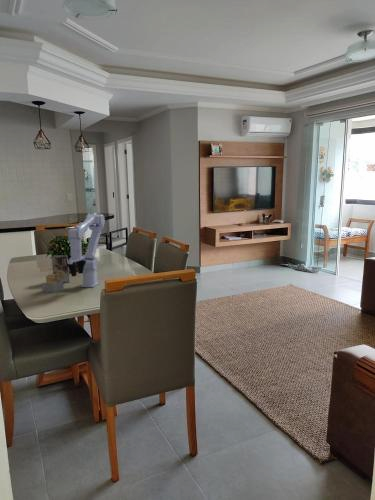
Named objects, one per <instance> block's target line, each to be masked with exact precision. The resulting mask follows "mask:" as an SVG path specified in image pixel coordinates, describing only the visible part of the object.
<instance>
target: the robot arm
mask: <svg viewBox="0 0 375 500" xmlns="http://www.w3.org/2000/svg"><path fill="white" fill-rule="evenodd" d="M105 219H106V218H105V216H104V214H102V213H101V214H91V213H90V214H89V213H88V214H87V215H86V216H85V220H83V222H81V221H80V222H78V224H77V225H75V226H74V228H70V229H69V230H68V232H67V237H68V242H69V243H70V258H68V264H67V266H68V268H69V273H70V275H71V277H76V276H77V271H78V274H82V275H81V276H82V284H81V285H80V287H81V288H93V287H94V288H95V286H97V285H99V284H100V281H98V272H97V269H98V264H99V263H98V262H99V260H98V258H97V256H96V252H97V248H98V244H99V240H100V237H101V233H102V231H103V229H104V226H105V222H106V220H105ZM88 229H89V230H91V234H90V237H89V241H88V244H87V248H86V249H87V250H86V251H85V254H82V253H83V252H82V251H83V250H82V239H83V237H84V234H85V233H86V232H87V231H88Z"/></svg>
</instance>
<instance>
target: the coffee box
mask: <svg viewBox="0 0 375 500" xmlns="http://www.w3.org/2000/svg"><path fill="white" fill-rule="evenodd" d="M68 260H69V258H68V254H66V255H65V254H63V255H52V256H51V265H52V274H59V282H62V283H63V284H64V283H70V281H71V280H70V269H69V267H68V266H67V264H68Z"/></svg>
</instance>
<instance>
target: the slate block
mask: <svg viewBox="0 0 375 500" xmlns="http://www.w3.org/2000/svg"><path fill="white" fill-rule="evenodd" d="M41 289H42V292H45V293H51V294H52V293H53V294H54V293H56V292H59V291H61V290H63V289H64V282H63V283H62V282H59V283H58V284H56V285H47V283H46V282H45V283H43V284H42V285H41Z"/></svg>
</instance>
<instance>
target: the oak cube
mask: <svg viewBox="0 0 375 500" xmlns="http://www.w3.org/2000/svg"><path fill="white" fill-rule="evenodd" d="M45 281H46V282H45V284H46V283H47V285H56V284H58V283H59V274H53V273H50V274H48V275H46V276H45Z"/></svg>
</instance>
